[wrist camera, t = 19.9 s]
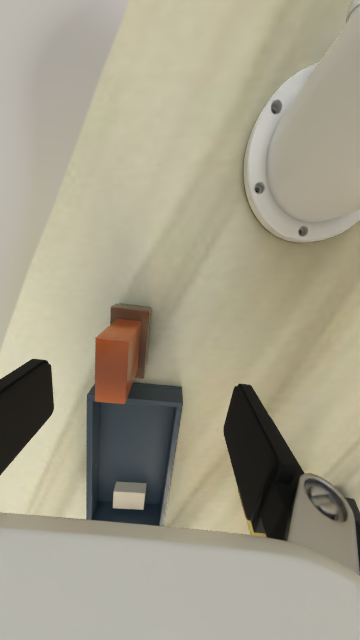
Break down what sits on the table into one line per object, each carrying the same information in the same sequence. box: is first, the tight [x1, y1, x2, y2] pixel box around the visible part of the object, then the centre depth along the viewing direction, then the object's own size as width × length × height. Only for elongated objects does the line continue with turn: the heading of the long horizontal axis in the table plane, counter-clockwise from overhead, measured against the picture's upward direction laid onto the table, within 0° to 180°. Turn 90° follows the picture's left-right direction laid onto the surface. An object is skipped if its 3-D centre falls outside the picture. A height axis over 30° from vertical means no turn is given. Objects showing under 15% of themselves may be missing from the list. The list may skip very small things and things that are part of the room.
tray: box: [86, 383, 183, 526], centre depth 22 cm, size 19×10×3 cm, turn 173°
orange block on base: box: [95, 304, 151, 404], centre depth 16 cm, size 7×4×7 cm, turn 173°
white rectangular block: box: [113, 481, 147, 510], centre depth 24 cm, size 3×4×1 cm
